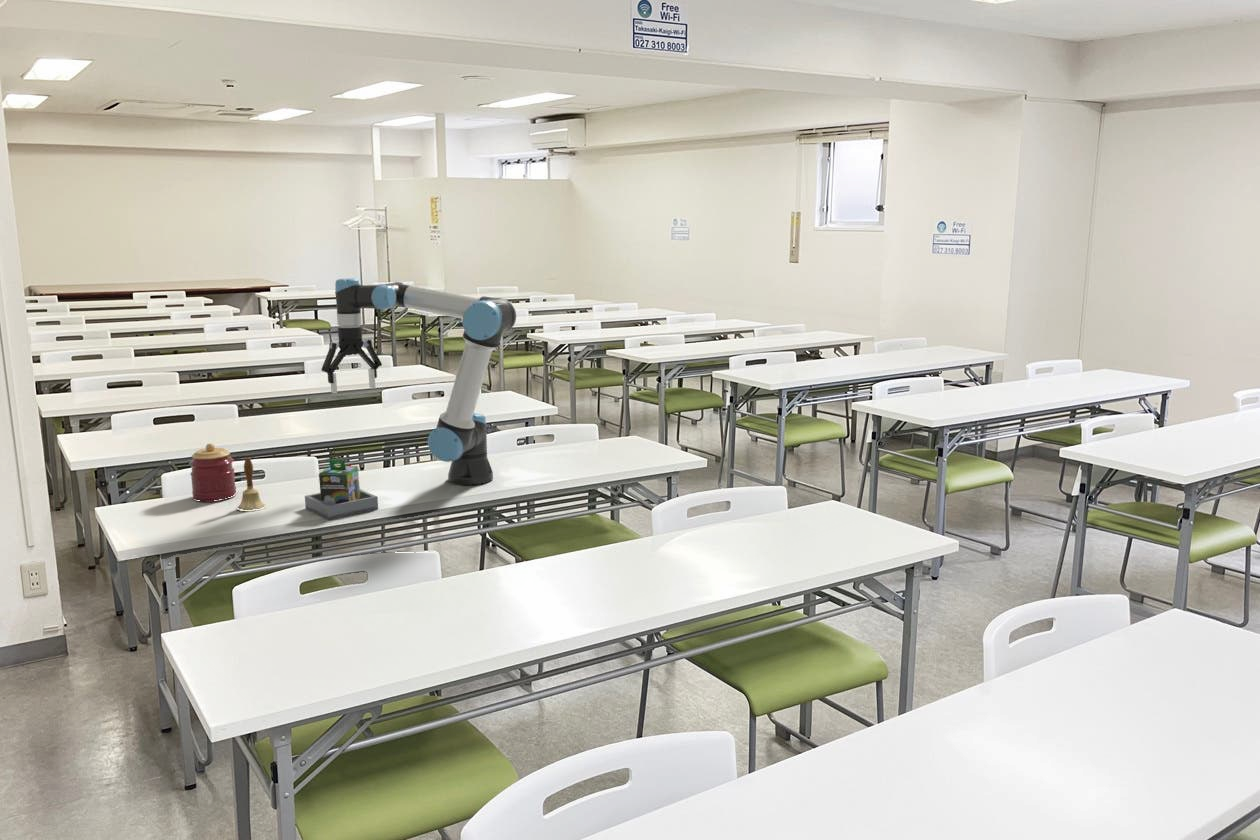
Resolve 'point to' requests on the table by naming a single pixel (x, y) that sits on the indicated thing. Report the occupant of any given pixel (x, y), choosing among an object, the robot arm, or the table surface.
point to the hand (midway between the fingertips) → (353, 390)
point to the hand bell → (250, 490)
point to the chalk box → (339, 483)
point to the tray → (341, 505)
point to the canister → (212, 474)
